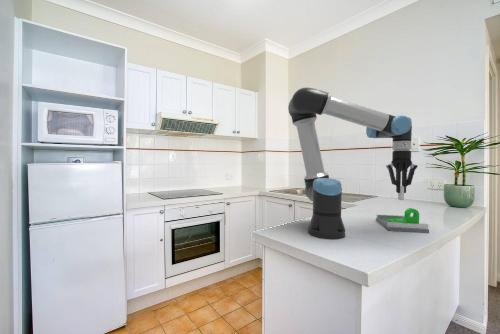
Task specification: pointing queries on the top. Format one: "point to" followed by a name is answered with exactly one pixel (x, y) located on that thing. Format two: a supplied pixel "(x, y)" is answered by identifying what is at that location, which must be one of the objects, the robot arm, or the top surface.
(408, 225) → the rail guides
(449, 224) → the top surface
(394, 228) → the mounting board
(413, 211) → the mechanical part
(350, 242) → the top surface
